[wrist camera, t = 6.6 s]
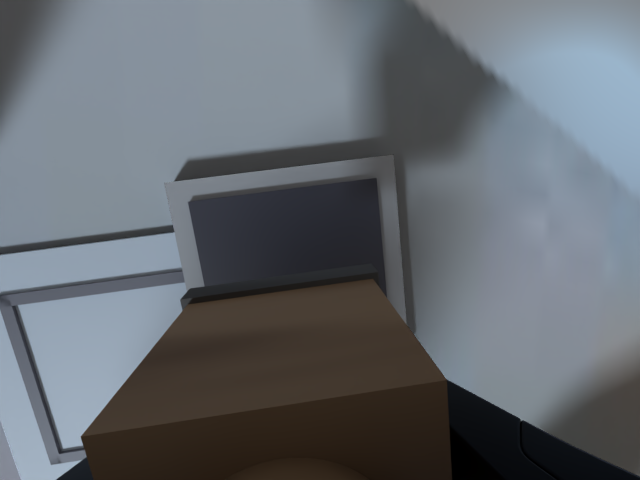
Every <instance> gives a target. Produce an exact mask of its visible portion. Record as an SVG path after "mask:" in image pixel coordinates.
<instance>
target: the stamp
mask: <svg viewBox="0 0 640 480" xmlns="http://www.w3.org/2000/svg"><path fill="white" fill-rule="evenodd" d="M180 302H181V306H182V312H181V313H180V315H179V316H178V317H177V318H176V320H175V321H174V322H173V323H172V324H171V326H170V327H169V328H168V329H167V331H166V332H165V333H164V334H163V336H162V337H161V338H160V339H159V341H158V342H157V343H156V344H155V345H154V347H153V348H152V349H151V350H150V352H149V353H148V354H147V355H146V357H145V358H144V359H143V360H142V362H141V363H140V364H139V365H138V366H137V368H136V369H135V370H134V371H133V373H132V374H131V375H130V376H129V378H128V379H127V380H126V381H125V383H124V384H123V385H122V386H121V387H120V389H119V390H118V391H117V392H116V394H115V395H114V396H113V397H112V399H111V400H110V401H109V402H108V404H107V405H106V406H105V407H104V408H103V410H102V411H101V412H100V413H99V415H98V416H97V417H96V418H95V420H94V421H93V422H92V423H91V425H90V426H89V427H88V428H87V429H86V431H85V432H84V433H83V434H82V436H81V440H82V443H83V447H84V450H85V453H86V456H87V460H88V463H89V466H90V470H91V473H92V476H93V479H94V480H452V468H451V449H450V430H449V411H448V393H447V380H446V378H445V377H444V375H443V374H442V373H441V371H440V370H439V369H438V367H437V366H436V364H435V363H434V362H433V360H432V359H431V358H430V356H429V355H428V353H427V352H426V351H425V349H424V348H423V347H422V345H421V344H420V342H419V341H418V340H417V338H416V337H415V336H414V334H413V333H412V332H411V330H410V329H409V327H408V326H407V325H406V323H405V322H404V321H403V319H402V318H401V316H400V315H399V314H398V312H397V311H396V310H395V308H394V307H393V305H392V304H391V303H390V301H389V300H388V299H387V297H386V296H385V294H384V293H383V292H382V290H381V289H380V284H379V273H378V271H377V270H376V268H375V267H374V266H373V265H372V264H371V263H370V264H363V265H356V266H349V267H342V268H334V269H327V270H320V271H313V272H305V273H298V274H291V275H284V276H276V277H269V278H262V279H255V280H247V281H240V282H233V283H226V284H218V285H211V286H204V287H197V288H190V289H189V290H188V291H187V292H186V293H185V295H184V296H183V297H182V298H181V299H180Z"/></svg>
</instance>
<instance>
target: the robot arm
mask: <svg viewBox="0 0 640 480" xmlns="http://www.w3.org/2000/svg"><path fill="white" fill-rule="evenodd" d="M446 380H447V379H446ZM447 393H448V411H449V430H450V449H451V468H452V480H640V477H639V476H637V475H635V474H633V473H631V472H628V471H626V470H624V469H622V468H619V467H617V466H615V465H613V464H611V463H608V462H606V461H604V460H602V459H600V458H598V457H596V456H593V455H591V454H589V453H587V452H585V451H583V450H581V449H578V448H576V447H574V446H572V445H570V444H568V443H566V442H564V441H562V440H560V439H558V438H556V437H554V436H552V435H550V434H548V433H547V432H545V431H543V430H541V429H539V428H537V427H535V426H533V425H531V424H529V423H528V422H526V421H521V420H520V418H518V417H516V416H514V415H512V414H510V413H509V412H507V411H505V410H503V409H501V408H499V407H497V406H495V405H494V404H492V403H490V402H488V401H486V400H484V399H482V398H481V397H479V396H477V395H475V394H473V393H471V392H469V391H467V390H466V389H464V388H462V387H460V386H458V385H456V384H454V383H452V382H451V381H449V380H447ZM56 480H94V479H93V476H92V473H91V470H90V466H89V463H88V460H87V457H86V458H84V459H83V460H82V461H80V462H79V463H78V464H76V465H75V466H74V467H72V468H71V469H70V470H68V471H67V472H65V473H64V474H63V475H61V476H60V477H59V478H57V479H56Z"/></svg>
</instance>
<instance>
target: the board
mask: <svg viewBox="0 0 640 480" xmlns="http://www.w3.org/2000/svg"><path fill="white" fill-rule="evenodd" d="M186 292H187V290H186V285H185V280H184V275H183V271H182V266H181V261H180V256H179V252H178V247H177V242H176V237H175V232H168V233H161V234H153V235H145V236H138V237H130V238H122V239H114V240H107V241H99V242H91V243H84V244H76V245H68V246H61V247H53V248H45V249H38V250H30V251H22V252H15V253H7V254H0V421H1V424H2V427H3V430H4V433H5V436H6V439H7V441H8V444H9V447H10V450H11V453H12V456H13V458H14V461H15V464H16V467H17V470H18V473H19V476H20V478H21V480H56V479H57V478H59V477H60V476H61V475H63V474H64V473H65V472H67V471H68V470H70V469H71V468H72V467H74V466H75V465H76V464H78V463H79V462H80V461H82V460H83V459H84V458H86V457H87V456H86V453H85V450H84V447H83V443H82V440H81V436H82V434H83V433H84V432H85V431H86V429H87V428H88V427H89V426H90V425H91V423H92V422H93V421H94V420H95V418H96V417H97V416H98V415H99V413H100V412H101V411H102V410H103V408H104V407H105V406H106V405H107V404H108V402H109V401H110V400H111V399H112V397H113V396H114V395H115V394H116V392H117V391H118V390H119V389H120V387H121V386H122V385H123V384H124V383H125V381H126V380H127V379H128V378H129V376H130V375H131V374H132V373H133V371H134V370H135V369H136V368H137V366H138V365H139V364H140V363H141V362H142V360H143V359H144V358H145V357H146V355H147V354H148V353H149V352H150V350H151V349H152V348H153V347H154V345H155V344H156V343H157V342H158V341H159V339H160V338H161V337H162V336H163V334H164V333H165V332H166V331H167V329H168V328H169V327H170V326H171V324H172V323H173V322H174V321H175V320H176V318H177V317H178V316H179V315H180V313H181V312H182V306H181V302H180V299H181V298H182V297H183V296H184V295H185V293H186Z"/></svg>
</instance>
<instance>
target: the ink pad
mask: <svg viewBox="0 0 640 480" xmlns="http://www.w3.org/2000/svg"><path fill="white" fill-rule="evenodd" d="M164 185H165V189H166V194H167V199H168V204H169V209H170V213H171V218H172V223H173V228H174V232H175V237H176V242H177V247H178V252H179V256H180V261H181V266H182V271H183V275H184V280H185V285H186V290H187V291H188V290H189V289H190V288H197V287H204V286H211V285H218V284H226V283H233V282H240V281H247V280H255V279H262V278H269V277H276V276H284V275H291V274H298V273H305V272H313V271H320V270H327V269H334V268H342V267H349V266H356V265H363V264H370V263H371V264H372V265H373V266H374V267H375V268H376V270H377V271H378V273H379V284H380V289H381V290H382V292H383V293H384V294H385V296H386V297H387V299H388V300H389V301H390V303H391V304H392V305H393V307H394V308H395V310H396V311H397V312H398V314H399V315H400V316H401V318H402V319H403V321H404V322H405V323H406V325H407V321H406V308H405V295H404V282H403V269H402V256H401V243H400V231H399V218H398V205H397V192H396V179H395V166H394V154H393V155H385V156H377V157H368V158H360V159H352V160H344V161H336V162H328V163H320V164H312V165H304V166H296V167H288V168H279V169H271V170H263V171H255V172H247V173H239V174H231V175H223V176H215V177H207V178H199V179H191V180H182V181H174V182H166V183H164Z"/></svg>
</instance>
